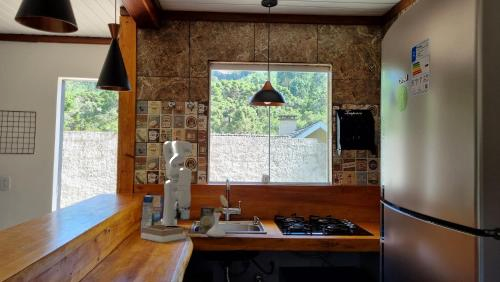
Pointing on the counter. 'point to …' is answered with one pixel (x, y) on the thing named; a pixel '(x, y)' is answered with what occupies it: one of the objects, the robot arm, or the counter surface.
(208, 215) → the coffee box
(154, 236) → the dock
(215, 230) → the flower in vase
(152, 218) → the beverage box
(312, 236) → the counter surface
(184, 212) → the tall pale blue box
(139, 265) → the counter surface
